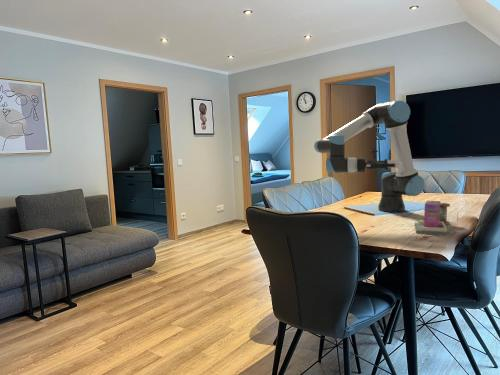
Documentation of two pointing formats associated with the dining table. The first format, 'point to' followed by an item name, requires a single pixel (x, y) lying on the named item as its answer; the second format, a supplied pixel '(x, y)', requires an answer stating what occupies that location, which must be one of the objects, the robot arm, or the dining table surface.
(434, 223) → the box
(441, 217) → the bobbin
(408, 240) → the dining table surface
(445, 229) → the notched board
